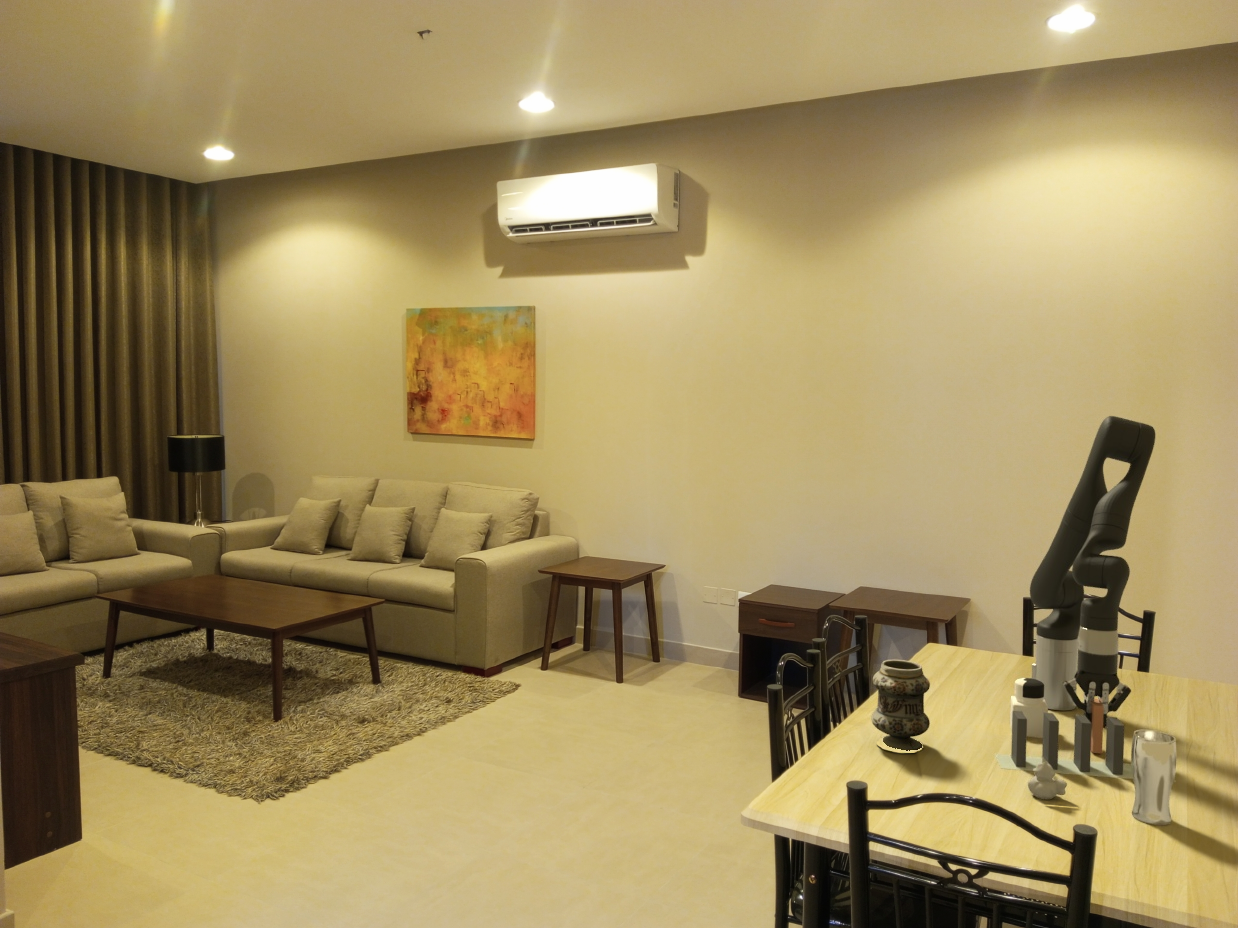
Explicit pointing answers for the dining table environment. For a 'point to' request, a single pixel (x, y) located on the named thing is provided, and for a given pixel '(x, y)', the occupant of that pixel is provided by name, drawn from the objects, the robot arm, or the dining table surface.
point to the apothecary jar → (901, 703)
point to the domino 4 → (1097, 727)
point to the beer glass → (1153, 775)
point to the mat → (1065, 767)
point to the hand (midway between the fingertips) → (1094, 728)
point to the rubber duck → (1045, 782)
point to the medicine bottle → (1030, 704)
